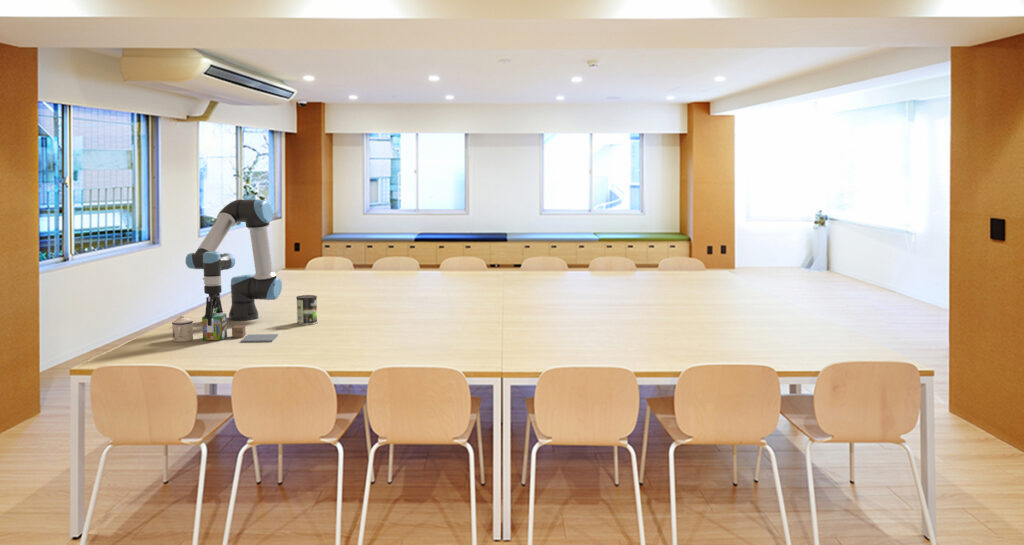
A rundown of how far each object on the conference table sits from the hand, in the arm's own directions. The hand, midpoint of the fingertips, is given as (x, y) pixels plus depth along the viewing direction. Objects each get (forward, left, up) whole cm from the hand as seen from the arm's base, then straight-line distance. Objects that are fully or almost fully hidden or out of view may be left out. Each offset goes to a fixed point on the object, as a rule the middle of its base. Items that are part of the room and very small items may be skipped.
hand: (214, 329), depth 370 cm
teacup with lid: (+3, -14, -5) cm, 15 cm away
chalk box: (0, 0, -5) cm, 5 cm away
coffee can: (-36, +37, -5) cm, 52 cm away
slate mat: (+2, +21, -5) cm, 22 cm away
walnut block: (-4, +10, -5) cm, 12 cm away
